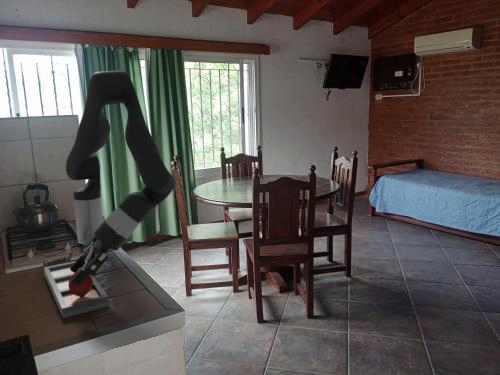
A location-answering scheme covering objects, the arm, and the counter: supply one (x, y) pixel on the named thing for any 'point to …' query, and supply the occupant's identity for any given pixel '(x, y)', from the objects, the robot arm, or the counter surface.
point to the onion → (83, 287)
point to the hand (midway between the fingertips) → (73, 277)
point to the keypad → (59, 287)
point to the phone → (56, 262)
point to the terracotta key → (74, 299)
